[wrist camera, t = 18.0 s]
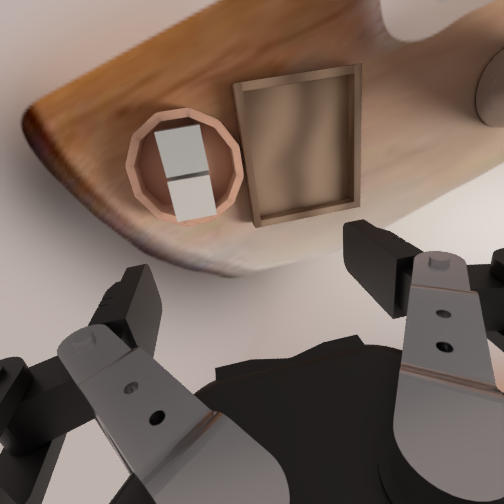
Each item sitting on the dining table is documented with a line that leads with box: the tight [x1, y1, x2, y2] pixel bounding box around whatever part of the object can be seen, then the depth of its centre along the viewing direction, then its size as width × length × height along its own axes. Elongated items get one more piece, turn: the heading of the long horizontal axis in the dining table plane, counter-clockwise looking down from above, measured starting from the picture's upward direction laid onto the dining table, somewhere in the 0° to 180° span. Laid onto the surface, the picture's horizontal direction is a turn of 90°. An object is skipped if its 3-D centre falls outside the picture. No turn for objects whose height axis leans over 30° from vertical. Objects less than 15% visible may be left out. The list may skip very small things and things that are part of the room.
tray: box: [231, 63, 362, 228], centre depth 35 cm, size 14×16×2 cm
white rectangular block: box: [167, 170, 217, 222], centre depth 32 cm, size 4×4×6 cm
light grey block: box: [154, 123, 209, 178], centre depth 30 cm, size 4×4×6 cm
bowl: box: [125, 107, 244, 226], centre depth 33 cm, size 12×12×4 cm
